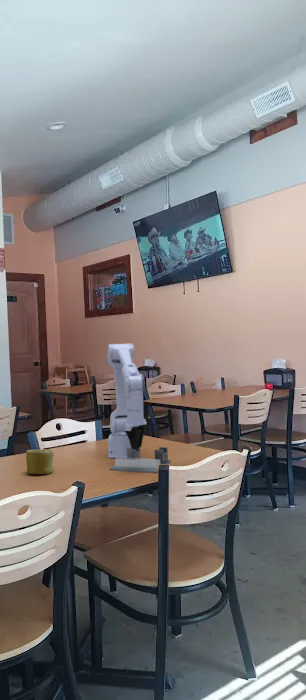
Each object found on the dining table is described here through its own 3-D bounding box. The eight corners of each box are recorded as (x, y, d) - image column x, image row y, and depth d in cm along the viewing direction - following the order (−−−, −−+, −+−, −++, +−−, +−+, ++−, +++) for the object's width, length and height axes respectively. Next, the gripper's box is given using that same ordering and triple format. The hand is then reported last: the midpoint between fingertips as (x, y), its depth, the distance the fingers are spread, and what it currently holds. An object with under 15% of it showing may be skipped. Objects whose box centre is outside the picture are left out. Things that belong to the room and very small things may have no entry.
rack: (124, 463, 211) (124, 448, 210) (131, 459, 216) (130, 445, 216) (165, 465, 205) (164, 450, 205) (170, 462, 210) (170, 447, 210)
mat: (109, 469, 201) (109, 468, 201) (118, 465, 208) (118, 463, 208) (157, 473, 195) (157, 471, 195) (164, 468, 201) (164, 466, 201)
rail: (118, 465, 205) (115, 467, 202) (118, 457, 205) (114, 458, 202) (160, 467, 200) (157, 469, 197) (160, 459, 199) (157, 461, 197)
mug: (41, 473, 192) (38, 443, 195) (21, 479, 197) (18, 450, 200) (67, 472, 201) (63, 444, 204) (46, 478, 207) (43, 451, 210)
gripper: (137, 412, 192) (138, 452, 193) (153, 407, 206) (154, 444, 206) (118, 412, 195) (119, 451, 195) (135, 406, 208) (136, 443, 209)
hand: (136, 448), depth 201 cm, fingers open, 3 cm apart
